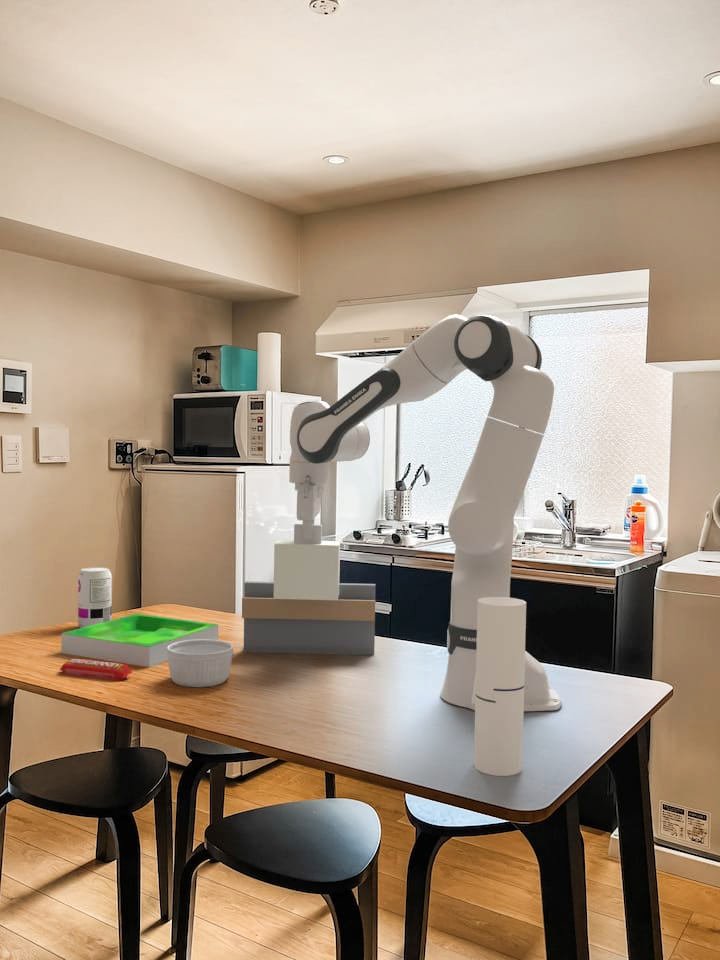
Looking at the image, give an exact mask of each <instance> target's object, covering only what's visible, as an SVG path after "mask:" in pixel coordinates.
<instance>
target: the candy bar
mask: <svg viewBox="0 0 720 960" xmlns="http://www.w3.org/2000/svg"><path fill="white" fill-rule="evenodd" d="M60 671H62V674H64V675H71V676H78V677H87V678H96V679H103V680H104V679H105V680H111V681H112V680H113V681H123V680H125V679H127V677H128V676H129V675H131V674H133V670H131V669H130V668H129V666H128V664H125V663H120V662H112V661H101V660H91V659H85V658H84V659H81V658H70V659H69V660H68V661H65V662H64V663H63V664H62V665H61V667H60V669H59V672H60Z"/></svg>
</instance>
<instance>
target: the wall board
mask: <svg viewBox="0 0 720 960" xmlns="http://www.w3.org/2000/svg"><path fill="white" fill-rule="evenodd" d="M243 588H244V589H243V592H244V593H243V594H244V595H243V597H242V598H241V619H243V653H269V654H270V653H271V654H274V653H275V654H309V655H311V654H316V655H320V654H321V655H353V656H354V655H355V656H356V655H357V656H359V655H360V656H361V655H363V656H375V646H376V645H375V644H376V643H375V636H376V626H375V624H376V583H351V582H349V583H346V582H344V583H343V582H341V583H340V582H339V596H338V600H301V599H274V581H250V580H249V581H248V580H247V581H244V586H243Z"/></svg>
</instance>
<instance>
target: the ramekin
mask: <svg viewBox="0 0 720 960" xmlns="http://www.w3.org/2000/svg"><path fill="white" fill-rule="evenodd" d="M233 654H234V645H233V643H231V642H228V641H225V640H219V639H218V640H209V639H197V640H186V641H180V642H176V643H173V644H170V645H169V646H168V647H167V655H168V661H167V662H168V667H169V668H168V669H169V676H170V678H171V680H172V682H174V683H175V684H176V685H177V686H181V687H188V688H189V687H190V688H208V687H214V686H217V685H221V684H223V683H224V682H226V680H227V679H228V678H229V676H230V673H231V666H232V657H233Z"/></svg>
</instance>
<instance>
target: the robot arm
mask: <svg viewBox="0 0 720 960" xmlns="http://www.w3.org/2000/svg"><path fill="white" fill-rule="evenodd" d="M542 362H543V356H542V351H541V349H540V347H539V346H538V343H536V342H535V340H534V339H533V338H532V337H531V336H529V335H528V334H526V333H524V332H522V331H521V330H520V329H519V328H518V327H517V326H515V325H513V324H511V323H509V322H507V321H504V320H501V319H500V318H499V317H496V316H494V315H493V316H492V315H488V314H481V315H475V316H472V317H470V318H467V317H465V316H463V315H460V314H452V315H448V316H446V317H445V318H443V319H441V320H440V321H438V322H437V323H435V324H433V325H432V326H431V327H429V328H428V329H426V330H425V331H424V332H422V334H420V335H419V336H417V338H415V339H414V340H413V341H412V342H411V343H410V344H409V345H407V346H406V347H405V348H404V349H403V350H401V352H400V353H398V354H397V355H396V356H394V358H392V360H390V361H389V362H388V363H386V364H384V365H383V366H382V367H381V368H379V370H377V371H376V372H373V374H372V375H370V376H368V377H367V378H365V380H363V381H362V382H361V383H359V384H358V385H356V386H355V387H354V388H353V389H350V391H349V392H347V393H346V394H345V395H344V396H342V397H341V398H340V399H338V400H337V401H336V402H335V403H333V404H332V405H330V404H328V402H326V401H322V400H314V401H313V400H312V401H310V400H309V401H304V402H300V403H298V404H296V405H295V406H294V408H293V409H292V410H293V411H292V413H291V417H290V429H289V445H290V447H291V448H290V449H291V453H290V456H289V457H290V458H289V473H288V474H289V479H288V480H289V481H288V482H289V483H292V484H294V490H295V491H296V492H297V493H296V519H297V520H298V521H302V524H303V531H304V532H303V537H304V538H305V539H311V538H312V525H315V519H316V517H317V516H318V514H320V511H321V506H322V499H323V492H324V484H330V463H332V462H333V463H335V462H337V463H338V462H351V461H356V460H359V459H360V458H362V457H363V456H364V455H365V454H366V452H367V451H368V450H369V447H370V442H371V441H370V440H371V439H370V438H371V437H370V436H371V435H370V432H369V428H368V426H367V425H366V423H364V421H366V420H367V419H368V418H369V417H371V416H372V415H373V414H375V413H376V412H378V411H380V410H381V409H385V408H387V407H392V406H395V405H400V404H406V403H407V404H408V403H413V402H414V403H416V402H420V401H424V400H426V399H428V398H430V397H431V396H433V395H435V394H437V393H438V392H440V391H441V390H442V389H443V388H445V387H446V386H447V385H448V384H450V383H451V382H452V381H453V380H454V379H456V378H457V376H458V375H461V373H462V372H464V371H466V370H468V371H470V372H472V373H473V374H475V376H477V377H478V378H480V379H481V380H483V381H484V382H490V384H491V385H492V388H493V398H492V402H491V405H490V408H489V410H488V413H487V417H486V418H485V422H484V423H483V424H484V425H483V428H482V431H481V434H480V436H479V440H478V442H477V446H476V447H475V452H474V454H473V457H472V459H471V462H470V464H469V467H468V469H467V471H466V473H465V476H464V479H462V480H463V481H462V482H461V486H460V488H459V491H458V493H457V496H456V497H455V500H454V504H453V506H452V509H451V511H450V514H449V517H448V523H447V531H448V534H449V537H450V539H451V541H452V542H453V544H454V545H455V550H454V559H453V571H452V576H451V581H450V582H451V584H450V585H451V586H450V587H451V589H450V591H451V592H450V621H449V622H448V627H447V630H446V631H447V634H446V636H447V637H446V648H447V653H448V658H447V664H446V672H445V677H444V682H443V685H442V689H441V690H440V691H441V692H440V697H441V699H442V700H444V702H447V703H449V704H451V705H455V706H458V707H463V708H468V709H470V710H473V711H474V712H475V695H476V651H477V606H478V599H480V598H485V597H508V598H511V574H512V559H513V544H514V528H515V527H514V525H515V524H514V523H515V518H514V517H515V515H516V513H517V510H518V508H519V504H520V502H521V499H522V496H523V495H524V493H525V492H524V491H525V489H526V486H527V484H528V481H529V478H530V477H531V473H532V470H533V467H534V465H535V461H536V459H537V456H538V453H539V450H540V447H541V444H542V442H543V439H544V435H545V433H546V430H547V427H548V423H549V420H550V416H551V411H552V408H553V407H552V406H553V401H554V392H555V385H554V382H553V380H552V379H551V378H550V377H549V375H548V374H547V373H545V372H543V371H542V370H541V368H542ZM561 707H562V699H561V695H559V693H558V692H557V691H556V690H555V689H553V688H552V687H550V684H549V678H548V674H547V671H546V669H545V668H544V666H543V664H541V662H539V661H538V660H537V659H536V658H535V657H533V656H532V655H531V654H530V653H529V652H528V651H526V650H525V674H524V712H544V711H558V710H559V709H560V708H561Z"/></svg>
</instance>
